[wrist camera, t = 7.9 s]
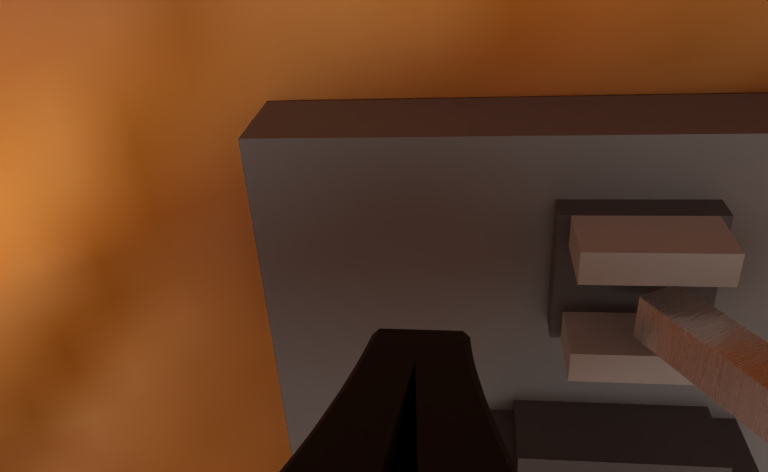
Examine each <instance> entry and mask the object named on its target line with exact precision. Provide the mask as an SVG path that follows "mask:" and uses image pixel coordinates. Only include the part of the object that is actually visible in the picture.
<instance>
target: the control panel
mask: <svg viewBox="0 0 768 472" xmlns="http://www.w3.org/2000/svg"><path fill="white" fill-rule="evenodd" d="M239 145H240V151H241V156H242V162H243V168H244V174H245V180H246V186H247V192H248V198H249V204H250V209H251V215H252V221H253V227H254V233H255V239H256V245H257V251H258V257H259V263H260V268H261V274H262V280H263V286H264V292H265V298H266V304H267V310H268V316H269V321H270V327H271V333H272V339H273V345H274V351H275V357H276V363H277V369H278V374H279V380H280V386H281V392H282V398H283V404H284V410H285V416H286V422H287V428H288V433H289V439H290V445H291V451H292V456H293V454H294V453H295V452H296V451H297V449H298V448H299V447H300V446H301V444H302V443H303V442H304V440H305V439H306V438H307V437H308V435H309V434H310V433H311V431H312V430H313V428H314V427H315V426H316V424H317V423H318V421H319V420H320V419H321V417H322V416H323V414H324V413H325V411H326V410H327V408H328V407H329V406H330V404H331V403H332V401H333V400H334V398H335V397H336V395H337V394H338V393H339V391H340V389H341V388H342V386H343V385H344V383H345V382H346V380H347V378H348V377H349V375H350V374H351V372H352V370H353V369H354V367H355V365H356V364H357V362H358V360H359V359H360V357H361V355H362V353H363V351H364V350H365V348H366V346H367V344H368V342H369V340H370V338H371V336H372V334H373V333H375V332H376V331H377V330H378V329H379V328H381V329H417V330H454V331H464V332H465V333H466V334H467V335H468V336H469V337H470V338H471V348H472V353H473V358H474V362H475V366H476V370H477V373H478V377H479V380H480V383H481V386H482V389H483V392H484V395H485V398H486V400H487V403H488V405H489V408H490V411H491V413H492V415H493V418H494V420H495V422H496V425H497V427H498V429H499V432H500V434H501V436H502V439H503V441H504V443H505V446H506V448H507V450H508V452H509V454H510V456H511V458H512V461H513V463H514V465H515V467H516V469H517V471H518V472H768V443H767V442H765V441H764V440H763V439H762V438H760V437H759V436H758V435H757V434H755V433H754V432H753V431H752V430H750V429H749V428H748V427H747V426H745V425H744V424H743V423H742V422H740V421H739V420H738V419H737V418H735V417H734V416H733V415H732V414H730V413H729V412H728V411H727V410H725V409H724V408H723V407H722V406H720V405H719V404H718V403H716V402H715V401H714V400H713V399H711V398H710V397H709V396H708V395H706V394H705V393H704V392H703V391H701V390H700V389H699V388H698V387H696V386H695V385H694V384H693V383H691V382H690V381H689V380H688V379H686V378H685V377H684V376H683V375H681V374H680V373H679V372H678V371H676V370H675V369H674V368H673V367H671V366H670V365H669V364H668V363H666V362H665V361H664V360H663V359H661V358H660V357H659V356H657V355H656V354H655V353H654V352H652V351H651V350H650V349H649V348H647V347H646V346H645V345H644V344H642V343H641V342H640V341H639V340H637V339H636V338H635V337H634V336H633V334H634V327H635V321H636V314H637V308H638V301H639V296H642V295H645V294H648V293H651V292H654V291H656V290H659V289H662V288H665V287H668V286H683V287H684V288H686V289H688V290H689V291H691V292H692V293H694V294H695V295H697V296H698V297H700V298H701V299H703V300H704V301H706V302H707V303H709V304H710V305H712V306H713V307H715V308H716V309H718V310H719V311H721V312H722V313H724V314H725V315H727V316H728V317H730V318H731V319H733V320H735V321H736V322H738V323H739V324H741V325H742V326H744V327H745V328H747V329H748V330H750V331H751V332H753V333H754V334H756V335H757V336H759V337H760V338H762V339H763V340H765V341H766V342H768V93H731V94H672V95H612V96H552V97H493V98H433V99H373V100H313V101H267V102H266V103H265V105H264V106H263V107H262V109H261V110H260V111H259V113H258V114H257V115H256V117H255V118H254V119H253V120H252V122H251V123H250V124H249V126H248V127H247V128H246V130H245V131H244V132H243V134H242V135H241V136H240V138H239Z"/></svg>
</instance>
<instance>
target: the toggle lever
mask: <svg viewBox="0 0 768 472" xmlns="http://www.w3.org/2000/svg"><path fill="white" fill-rule="evenodd" d="M633 336H634V337H635V338H636V339H637V340H639V341H640V342H641V343H642V344H644V345H645V346H646V347H647V348H649V349H650V350H651V351H652V352H654V353H655V354H656V355H657V356H659V357H660V358H661V359H663V360H664V361H665V362H666V363H668V364H669V365H670V366H671V367H673V368H674V369H675V370H676V371H678V372H679V373H680V374H681V375H683V376H684V377H685V378H686V379H688V380H689V381H690V382H691V383H693V384H694V385H695V386H696V387H698V388H699V389H700V390H701V391H703V392H704V393H705V394H706V395H708V396H709V397H710V398H711V399H713V400H714V401H715V402H716V403H718V404H719V405H720V406H722V407H723V408H724V409H725V410H727V411H728V412H729V413H730V414H732V415H733V416H734V417H735V418H737V419H738V420H739V421H740V422H742V423H743V424H744V425H745V426H747V427H748V428H749V429H750V430H752V431H753V432H754V433H755V434H757V435H758V436H759V437H760V438H762V439H763V440H764V441H765V442H767V443H768V342H766V341H765V340H763V339H762V338H760V337H759V336H757V335H756V334H754V333H753V332H751V331H750V330H748V329H747V328H745V327H744V326H742V325H741V324H739V323H738V322H736V321H735V320H733V319H731V318H730V317H728V316H727V315H725V314H724V313H722V312H721V311H719V310H718V309H716V308H715V307H713V306H712V305H710V304H709V303H707V302H706V301H704V300H703V299H701V298H700V297H698V296H697V295H695V294H694V293H692V292H691V291H689V290H688V289H686V288H684V287H683V286H668V287H665V288H662V289H659V290H656V291H654V292H651V293H648V294H645V295H642V296H639V301H638V308H637V314H636V321H635V327H634V334H633Z"/></svg>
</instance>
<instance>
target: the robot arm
mask: <svg viewBox="0 0 768 472" xmlns="http://www.w3.org/2000/svg"><path fill="white" fill-rule="evenodd" d="M280 472H518V471H517V469H516V467H515V465H514V463H513V461H512V458H511V456H510V454H509V452H508V450H507V448H506V446H505V443H504V441H503V439H502V436H501V434H500V432H499V429H498V427H497V425H496V422H495V420H494V418H493V415H492V413H491V411H490V408H489V405H488V403H487V400H486V398H485V395H484V392H483V389H482V386H481V383H480V380H479V377H478V373H477V370H476V366H475V362H474V358H473V353H472V348H471V338H470V337H469V336H468V335H467V334H466V333H465V332H464V331H454V330H417V329H381V328H379V329H378V330H377V331H376V332H375V333H373V334H372V336H371V338H370V340H369V342H368V344H367V346H366V348H365V350H364V351H363V353H362V355H361V357H360V359H359V360H358V362H357V364H356V365H355V367H354V369H353V370H352V372H351V374H350V375H349V377H348V378H347V380H346V382H345V383H344V385H343V386H342V388H341V389H340V391H339V393H338V394H337V395H336V397H335V398H334V400H333V401H332V403H331V404H330V406H329V407H328V408H327V410H326V411H325V413H324V414H323V416H322V417H321V419H320V420H319V421H318V423H317V424H316V426H315V427H314V428H313V430H312V431H311V433H310V434H309V435H308V437H307V438H306V439H305V440H304V442H303V443H302V444H301V446H300V447H299V448H298V449H297V451H296V452H295V453H294V454H293V456H292V457H291V458H290V459H289V461H288V462H287V463H286V465H285V466H284V467H283V468H282V470H281V471H280Z"/></svg>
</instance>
